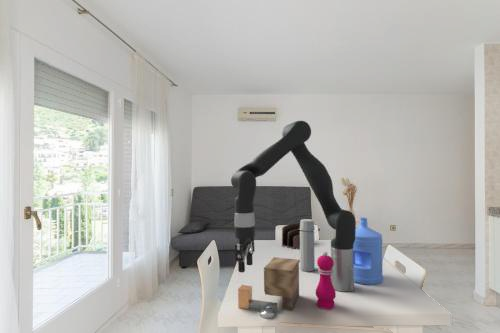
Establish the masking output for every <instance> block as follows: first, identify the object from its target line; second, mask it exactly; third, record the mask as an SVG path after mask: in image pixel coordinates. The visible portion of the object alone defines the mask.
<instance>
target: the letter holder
mask: <svg viewBox="0 0 500 333" xmlns="http://www.w3.org/2000/svg"><path fill="white" fill-rule="evenodd" d="M299 229H300V223H290V224H286V225H284V226H283V227H282V230H281V247H282V248H285V247H287V248H286V249H290V248H291V250H296V248H297V249H300V248H299V247H300V231H301V230H299Z"/></svg>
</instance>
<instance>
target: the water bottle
mask: <svg viewBox="0 0 500 333" xmlns="http://www.w3.org/2000/svg"><path fill="white" fill-rule="evenodd" d="M299 230H301V231H300V248H299V255H300V256H299V260H300V262H299V269H300V270H301V271H303V272H307V273H309V272H311V273H312V272H313V271H315V268H316V267H315V264H316V263H315V262H316V261H315V231H316V228H315V221H314V219H311V218H309V219H307V218H303V219H301V220H300V229H299Z"/></svg>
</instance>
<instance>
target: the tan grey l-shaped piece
mask: <svg viewBox="0 0 500 333" xmlns="http://www.w3.org/2000/svg"><path fill="white" fill-rule="evenodd" d="M237 291H238V292H237V295H238V296H237V298H238V300H237V302H238V304H237V305H238V306H237V308H239V309H242V310H254V311H259V312H260V311H261V310H262V309H265V308H269V309H273V310H274V311H275V313H276V312H277V310H278V303H277V302H271V301H265V300H257V299H253V286H252V285H246V284H245V285H244V284H241V285H240V286H239V287H238V289H237Z"/></svg>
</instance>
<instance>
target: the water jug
mask: <svg viewBox="0 0 500 333" xmlns="http://www.w3.org/2000/svg"><path fill="white" fill-rule="evenodd" d="M359 220H360V221H359V226H358V227H356V234H355V242H354V244H353V261H354V284H360V285H365V286H366V285H368V286H370V285H371V286H372V285H380V284H381V283H382V282H383V281H384V275H383V261H384V260H383V235H382V233H380V232H378V231H376V230H374V229H372V228H370V227H368V217H359Z"/></svg>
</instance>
